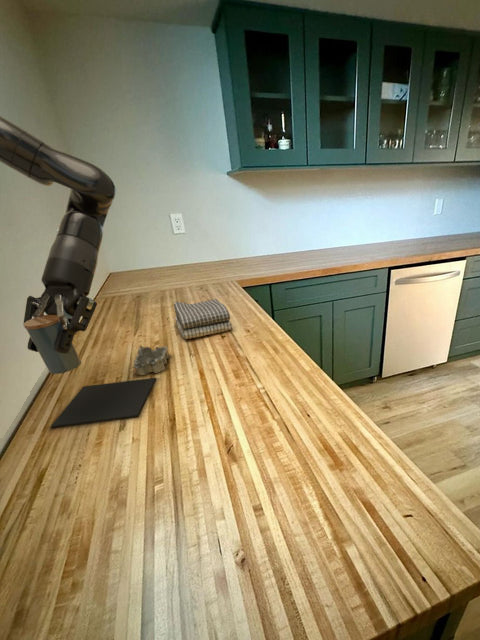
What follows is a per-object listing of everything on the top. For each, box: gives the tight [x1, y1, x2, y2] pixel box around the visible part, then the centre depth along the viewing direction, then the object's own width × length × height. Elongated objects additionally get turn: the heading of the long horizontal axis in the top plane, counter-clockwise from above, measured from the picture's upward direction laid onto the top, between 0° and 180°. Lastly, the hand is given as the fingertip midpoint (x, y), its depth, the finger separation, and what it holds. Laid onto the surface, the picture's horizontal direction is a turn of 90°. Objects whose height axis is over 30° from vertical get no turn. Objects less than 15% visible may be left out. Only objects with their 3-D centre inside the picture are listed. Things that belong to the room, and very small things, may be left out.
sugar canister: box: [22, 314, 82, 375], centre depth 61 cm, size 6×6×10 cm
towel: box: [173, 298, 232, 340], centre depth 106 cm, size 15×18×8 cm
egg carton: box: [132, 345, 170, 376], centre depth 87 cm, size 11×8×4 cm
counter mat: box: [50, 377, 157, 429], centre depth 74 cm, size 17×15×1 cm
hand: (47, 351), depth 60 cm, fingers closed on sugar canister, 5 cm apart
